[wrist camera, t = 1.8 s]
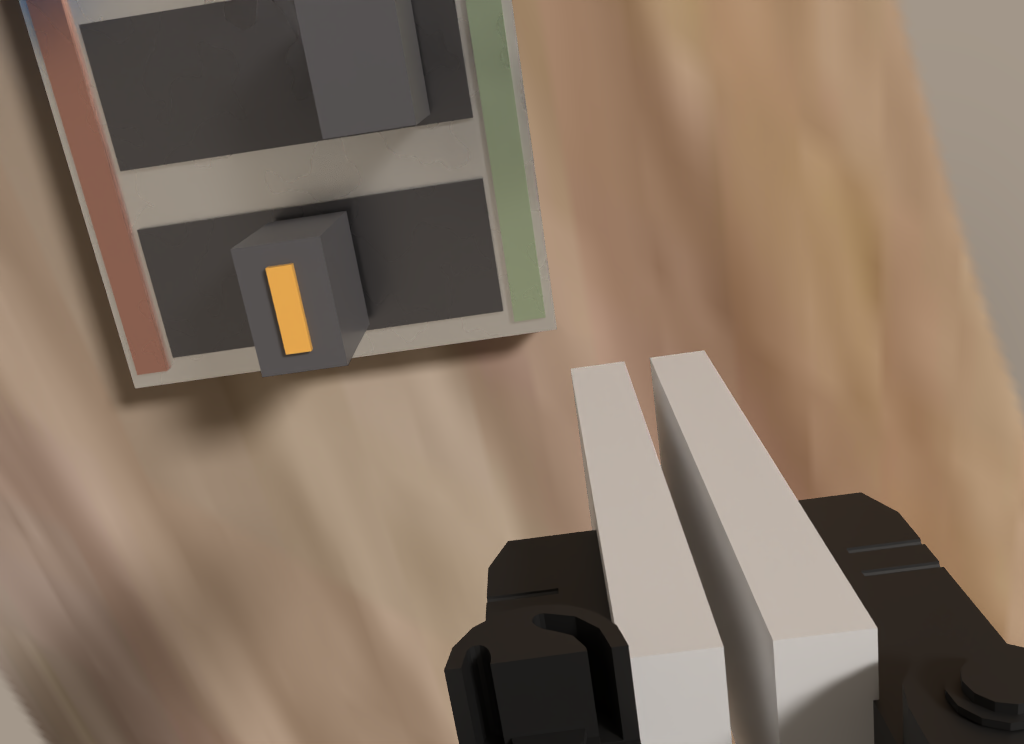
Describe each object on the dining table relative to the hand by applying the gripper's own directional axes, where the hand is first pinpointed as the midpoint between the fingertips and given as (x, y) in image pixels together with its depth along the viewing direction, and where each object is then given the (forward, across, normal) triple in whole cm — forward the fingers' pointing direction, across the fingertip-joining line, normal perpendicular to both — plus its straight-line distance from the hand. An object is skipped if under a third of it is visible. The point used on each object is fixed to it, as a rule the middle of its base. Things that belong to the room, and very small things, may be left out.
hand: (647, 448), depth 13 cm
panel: (+18, -8, +6) cm, 21 cm away
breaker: (+16, -5, +6) cm, 18 cm away
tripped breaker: (+16, -8, 0) cm, 18 cm away
